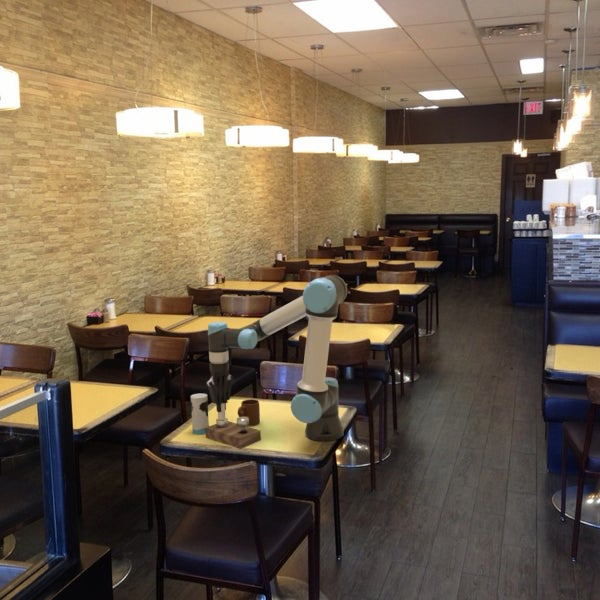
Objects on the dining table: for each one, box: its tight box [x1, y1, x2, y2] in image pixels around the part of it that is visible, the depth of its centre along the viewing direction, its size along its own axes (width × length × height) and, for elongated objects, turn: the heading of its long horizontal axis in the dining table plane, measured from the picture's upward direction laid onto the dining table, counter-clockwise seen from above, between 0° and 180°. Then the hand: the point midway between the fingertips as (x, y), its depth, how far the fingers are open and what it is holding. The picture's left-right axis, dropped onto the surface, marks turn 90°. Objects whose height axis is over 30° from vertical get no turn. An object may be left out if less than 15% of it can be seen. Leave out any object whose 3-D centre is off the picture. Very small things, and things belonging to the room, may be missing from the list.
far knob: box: [215, 417, 229, 428], centre depth 266 cm, size 5×5×6 cm
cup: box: [190, 393, 210, 435], centre depth 271 cm, size 7×7×15 cm
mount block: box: [205, 420, 262, 450], centre depth 263 cm, size 20×11×4 cm, turn 49°
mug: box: [237, 399, 261, 427], centre depth 278 cm, size 12×8×9 cm, turn 147°
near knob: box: [236, 416, 249, 434], centre depth 258 cm, size 5×5×6 cm
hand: (221, 419), depth 266 cm, fingers closed
